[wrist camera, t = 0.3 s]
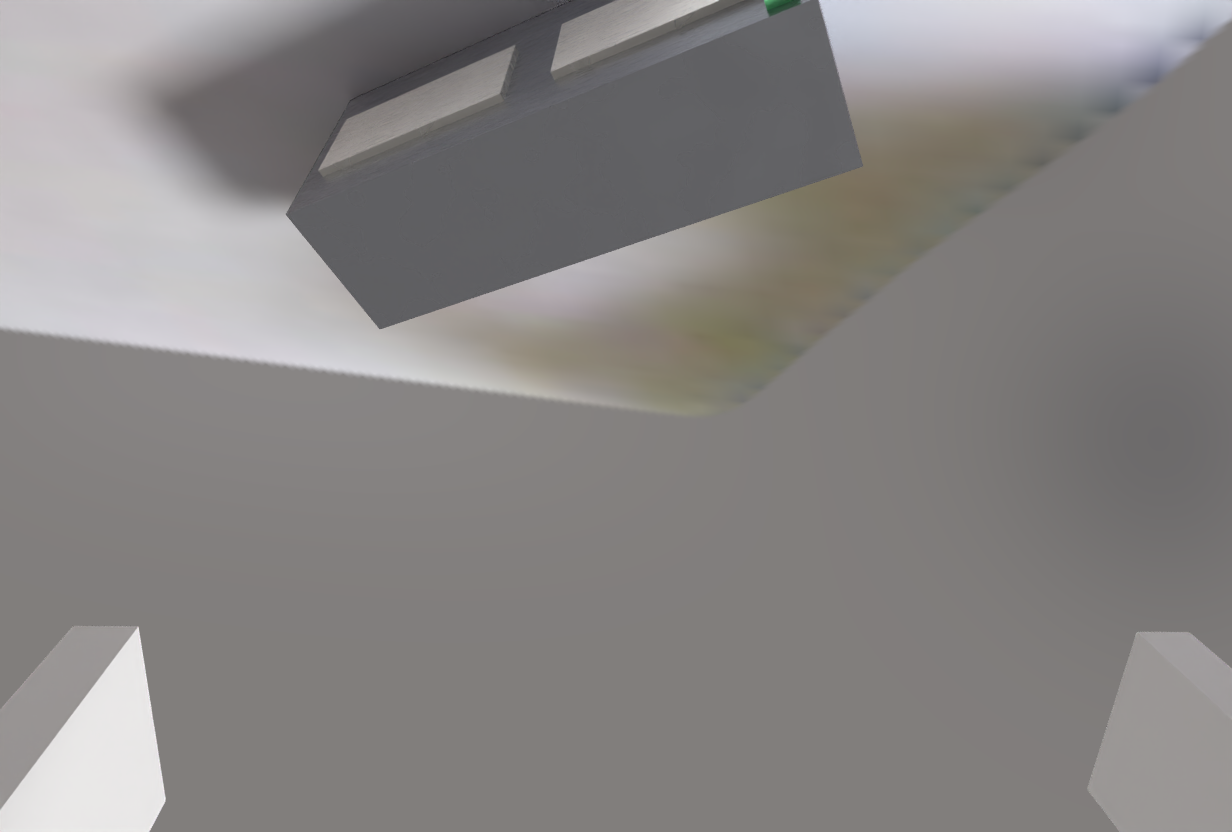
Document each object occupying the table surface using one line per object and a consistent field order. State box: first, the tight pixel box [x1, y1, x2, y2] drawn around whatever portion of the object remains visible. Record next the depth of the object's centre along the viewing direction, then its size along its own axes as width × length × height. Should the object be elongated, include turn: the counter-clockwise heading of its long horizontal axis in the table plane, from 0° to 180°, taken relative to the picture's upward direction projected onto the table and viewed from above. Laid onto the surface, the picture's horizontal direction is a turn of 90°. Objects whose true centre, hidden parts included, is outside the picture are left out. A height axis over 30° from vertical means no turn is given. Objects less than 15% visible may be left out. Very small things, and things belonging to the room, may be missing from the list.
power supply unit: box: [286, 0, 863, 329], centre depth 34 cm, size 6×20×9 cm, turn 114°
